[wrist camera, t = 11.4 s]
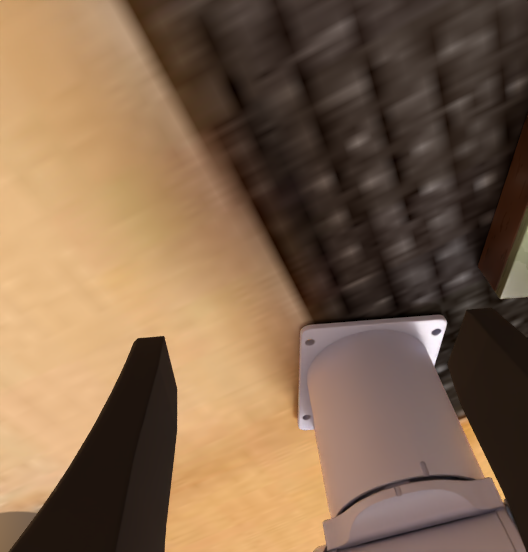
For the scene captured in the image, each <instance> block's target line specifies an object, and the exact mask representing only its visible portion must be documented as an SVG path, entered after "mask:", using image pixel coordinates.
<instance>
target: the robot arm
mask: <svg viewBox="0 0 528 552" xmlns="http://www.w3.org/2000/svg"><path fill="white" fill-rule="evenodd" d="M446 326H447V321H446V319H445V318H444V316H442V315H427V316H414V317H402V318H389V319H376V320H364V321H351V322H339V323H326V324H313V325H306V326H304V327H303V328H302V329H301V331H300V354H299V392H298V427H299V428H300V429H301V430H313V429H314V430H315V435H316V441H317V446H318V452H319V457H320V463H321V468H322V474H323V479H324V485H325V490H326V496H327V501H328V506H329V511H330V515H331V519H328V520H325V521H323V528H324V534H325V540H326V545H323V546H319V547H317V548H316V549H315V550H314V552H528V338H527V337H525V336H524V335H523V334H522V333H521V332H520V331H518V330H517V329H516V328H515V327H514V326H513V325H512V324H510V323H509V322H508V321H507V320H506V319H504V318H503V317H502V316H501V315H500V314H498V313H497V312H496V311H495V310H494V309H492V308H484V309H472V310H467V311H466V313H465V316H464V319H463V322H462V325H461V328H460V330H459V333H458V336H457V339H456V342H455V344H454V347H453V350H452V353H451V356H450V358H449V361H448V368H449V371H450V374H451V377H452V380H453V383H454V387H455V389H456V392H457V395H458V398H459V401H460V404H461V406H462V408H463V410H464V412H465V414H466V416H467V419H468V421H469V423H470V425H471V427H472V429H473V431H474V433H475V435H476V437H477V439H478V441H479V443H480V446H481V448H482V450H483V452H484V454H485V456H486V458H487V460H488V462H489V464H490V466H491V468H492V470H493V472H494V474H495V476H496V478H497V480H498V483H499V485H500V487H501V489H502V491H503V493H504V495H505V498H506V499H504V503H503V502H502V500H501V497H500V495H499V493H498V491H497V489H496V487H495V485H494V482H493V480H492V478H489V477H488V478H485V477H484V475H483V473H482V471H481V468H480V466H479V464H478V462H477V460H476V457H475V455H474V453H473V451H472V448H471V446H470V444H469V442H468V440H467V437H466V435H465V433H464V431H463V429H462V426H461V424H460V422H459V420H458V418H457V415H456V413H455V411H454V409H453V407H452V404H451V402H450V400H449V398H448V396H447V393H446V391H445V389H444V387H443V385H442V382H441V380H440V378H439V376H438V374H437V371H436V369H435V367H434V365H435V362H436V358H437V355H438V352H439V349H440V345H441V342H442V339H443V335H444V332H445V329H446ZM435 329H436V330H435ZM308 339H311V340H308ZM176 435H177V386H176V382H175V378H174V374H173V370H172V366H171V362H170V358H169V354H168V350H167V346H166V342H165V338H164V336H160V337H149V338H138V339H137V340H136V341H135V342H134V343H133V346H132V348H131V351H130V353H129V355H128V358H127V360H126V362H125V365H124V367H123V369H122V371H121V373H120V376H119V378H118V380H117V382H116V384H115V386H114V388H113V390H112V392H111V394H110V396H109V398H108V400H107V402H106V404H105V405H104V407H103V409H102V411H101V413H100V415H99V417H98V419H97V421H96V422H95V424H94V426H93V428H92V430H91V431H90V433H89V435H88V436H87V438H86V440H85V441H84V443H83V445H82V446H81V448H80V450H79V451H78V453H77V455H76V456H75V458H74V460H73V461H72V463H71V465H70V466H69V468H68V469H67V471H66V472H65V474H64V475H63V477H62V479H61V480H60V482H59V483H58V485H57V486H56V488H55V489H54V491H53V492H52V493H51V495H50V496H49V498H48V499H47V501H46V502H45V504H44V505H43V506H42V508H41V509H40V511H39V512H38V513H37V515H36V516H35V517H34V519H33V520H32V521H31V523H30V524H29V526H28V527H27V528H26V529H25V531H24V532H23V533H22V535H21V536H20V538H19V539H18V540H17V542H16V543H15V544H14V545H13V547H12V548H11V549H10V551H9V552H165V535H166V523H167V514H168V505H169V497H170V488H171V480H172V471H173V462H174V453H175V444H176Z"/></svg>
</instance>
